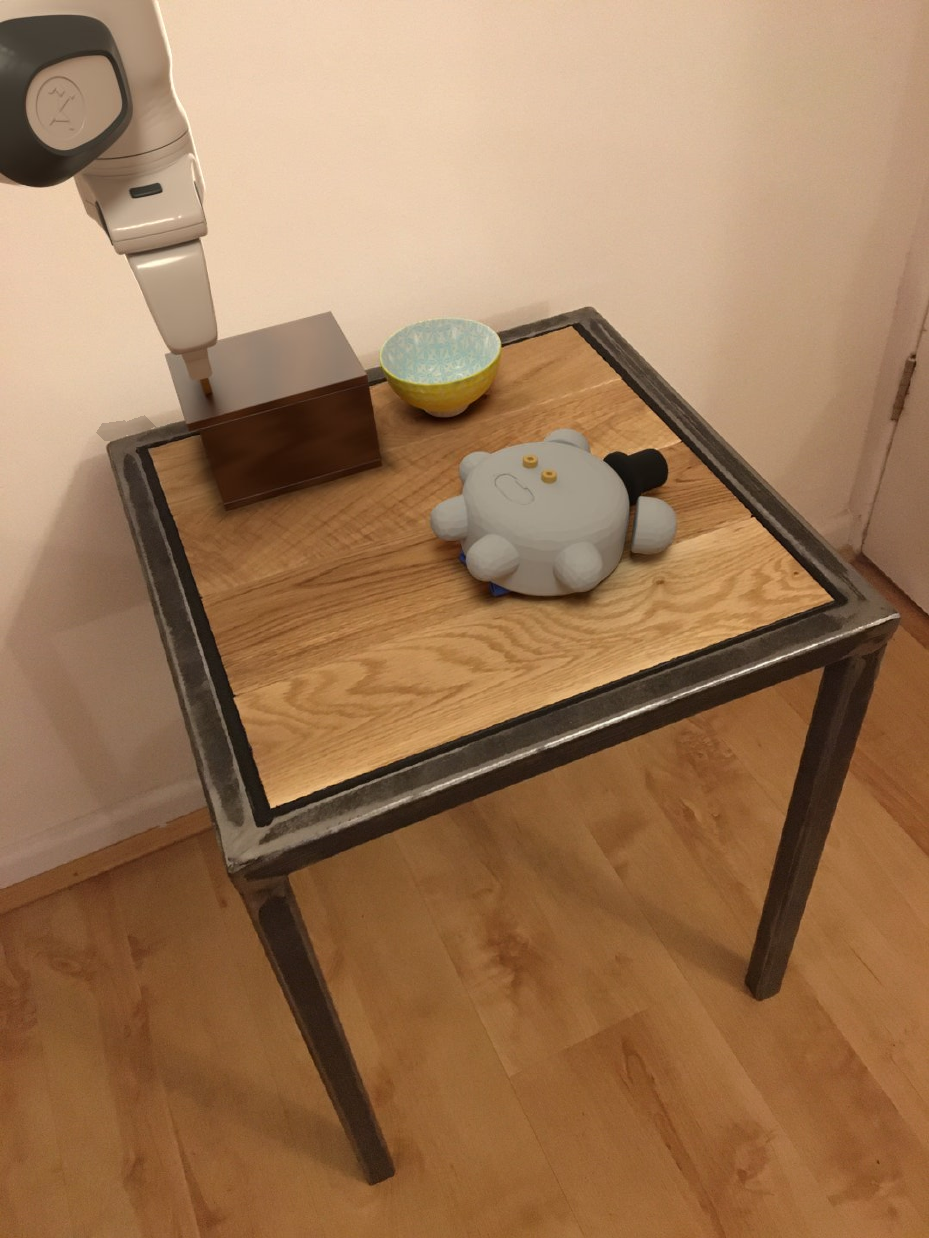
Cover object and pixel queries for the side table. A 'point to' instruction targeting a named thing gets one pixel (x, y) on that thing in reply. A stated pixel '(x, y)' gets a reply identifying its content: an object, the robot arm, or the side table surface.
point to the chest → (293, 446)
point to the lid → (267, 371)
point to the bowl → (441, 363)
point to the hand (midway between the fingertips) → (190, 346)
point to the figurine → (554, 514)
